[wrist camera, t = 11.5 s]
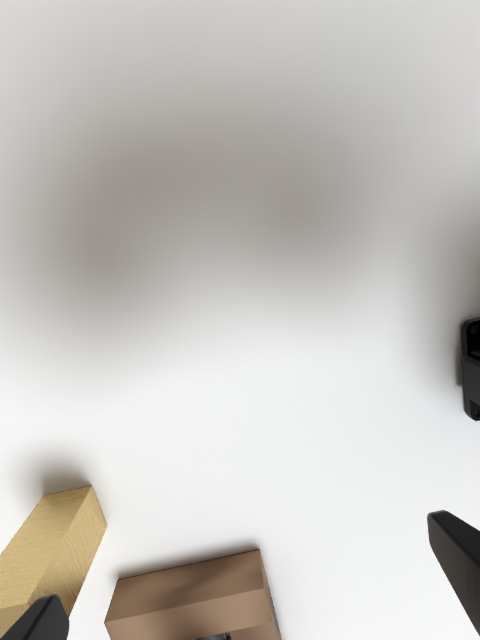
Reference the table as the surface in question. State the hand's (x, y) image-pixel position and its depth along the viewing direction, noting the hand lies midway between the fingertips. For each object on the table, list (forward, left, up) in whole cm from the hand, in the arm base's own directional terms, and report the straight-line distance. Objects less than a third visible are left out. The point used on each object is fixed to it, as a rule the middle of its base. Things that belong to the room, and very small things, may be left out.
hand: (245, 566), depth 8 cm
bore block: (+6, +18, -12) cm, 22 cm away
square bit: (+12, +7, -12) cm, 18 cm away
